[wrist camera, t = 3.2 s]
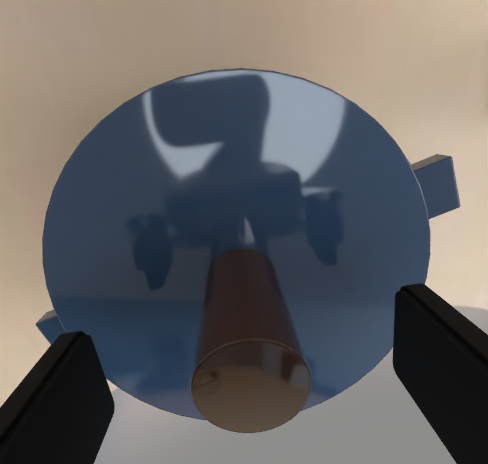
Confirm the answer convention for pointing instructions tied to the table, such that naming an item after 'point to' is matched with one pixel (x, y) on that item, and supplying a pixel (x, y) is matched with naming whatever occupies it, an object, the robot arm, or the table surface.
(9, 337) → the table surface
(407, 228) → the pot lid
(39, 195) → the table surface
